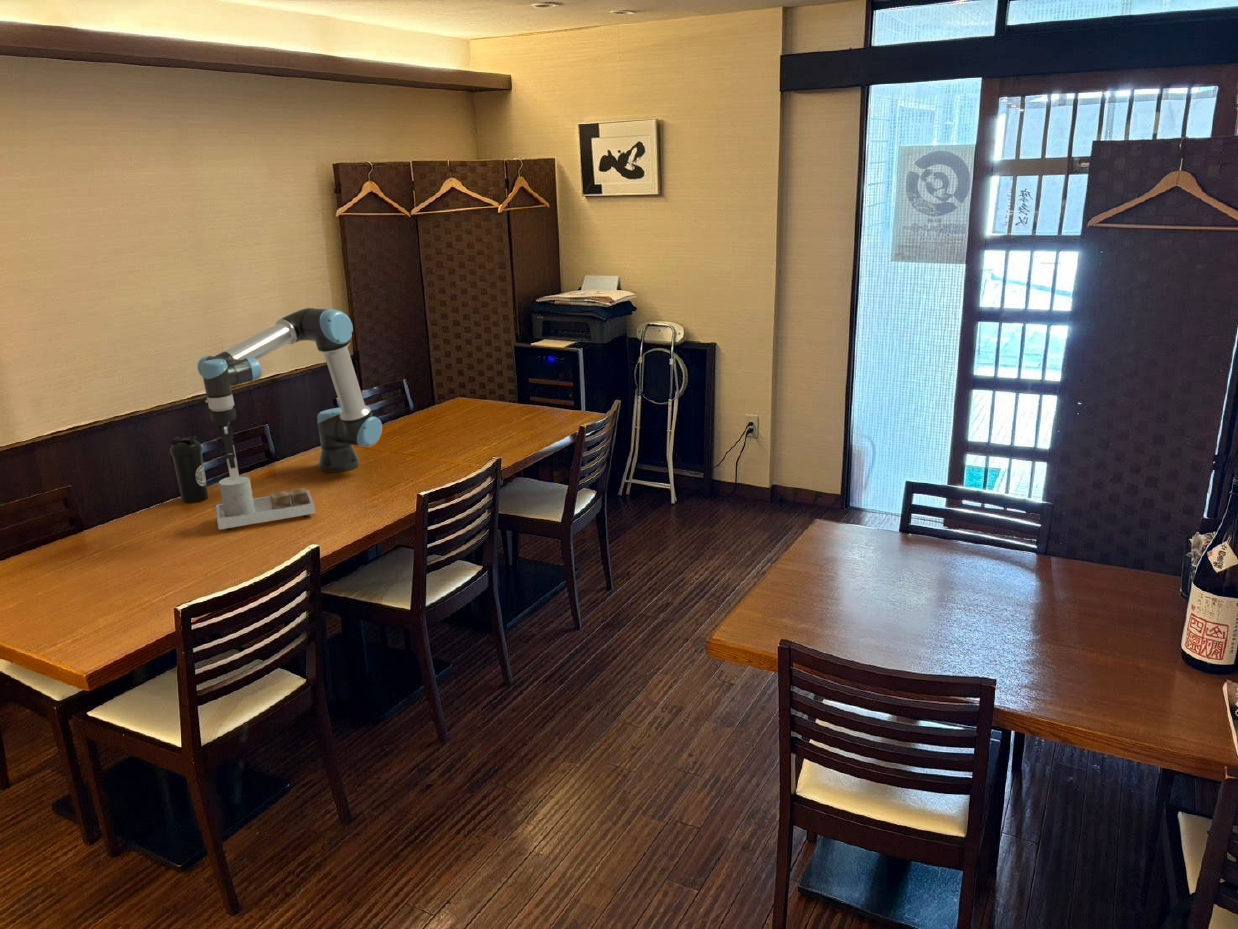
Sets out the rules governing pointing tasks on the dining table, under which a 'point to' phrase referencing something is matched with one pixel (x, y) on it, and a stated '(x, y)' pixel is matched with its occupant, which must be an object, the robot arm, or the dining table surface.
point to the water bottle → (189, 469)
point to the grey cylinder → (237, 495)
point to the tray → (264, 513)
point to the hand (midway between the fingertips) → (233, 470)
